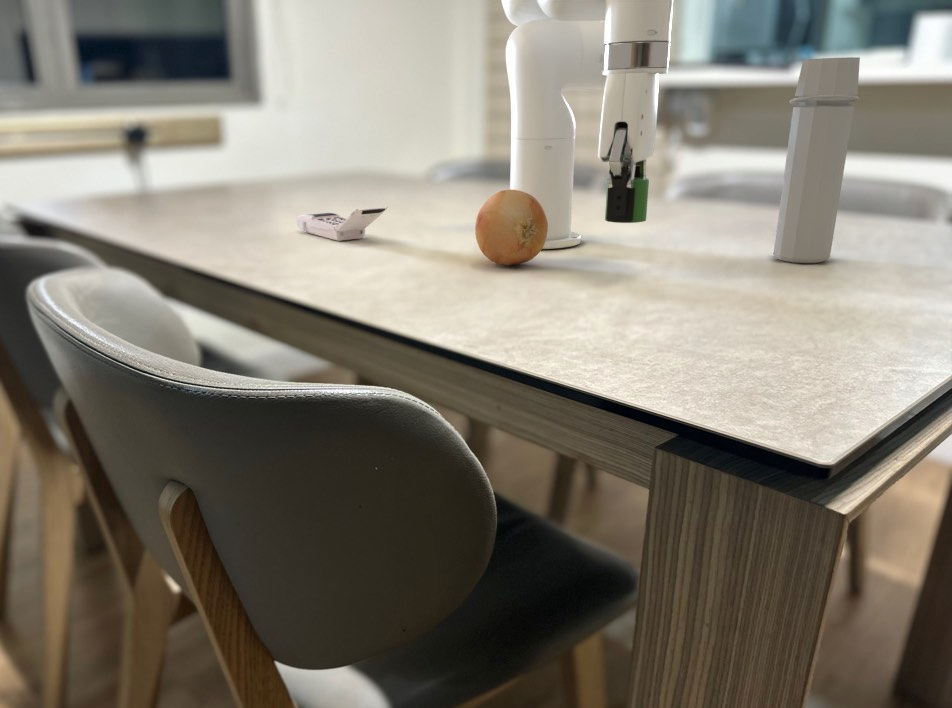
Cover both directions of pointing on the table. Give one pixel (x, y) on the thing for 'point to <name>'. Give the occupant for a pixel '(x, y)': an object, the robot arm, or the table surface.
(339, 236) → the mobile phone
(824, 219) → the water bottle
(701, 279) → the table surface
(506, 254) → the onion
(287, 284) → the table surface
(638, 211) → the green cylinder with nub
